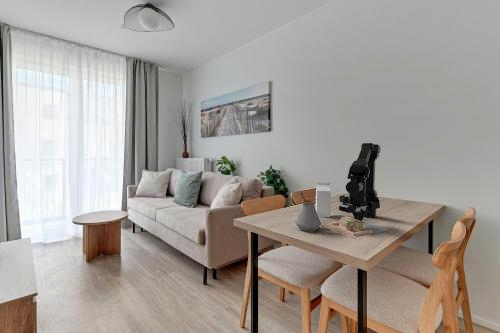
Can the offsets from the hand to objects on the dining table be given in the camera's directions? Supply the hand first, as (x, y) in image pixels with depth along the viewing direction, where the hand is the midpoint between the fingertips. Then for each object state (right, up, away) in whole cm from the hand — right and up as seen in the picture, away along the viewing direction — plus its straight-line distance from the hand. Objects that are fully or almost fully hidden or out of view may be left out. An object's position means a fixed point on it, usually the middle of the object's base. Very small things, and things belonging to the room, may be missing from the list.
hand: (357, 224), depth 113 cm
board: (-1, -2, 0) cm, 2 cm away
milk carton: (-10, -1, +22) cm, 24 cm away
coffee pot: (-23, -2, +6) cm, 24 cm away
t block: (-5, -1, -3) cm, 6 cm away
